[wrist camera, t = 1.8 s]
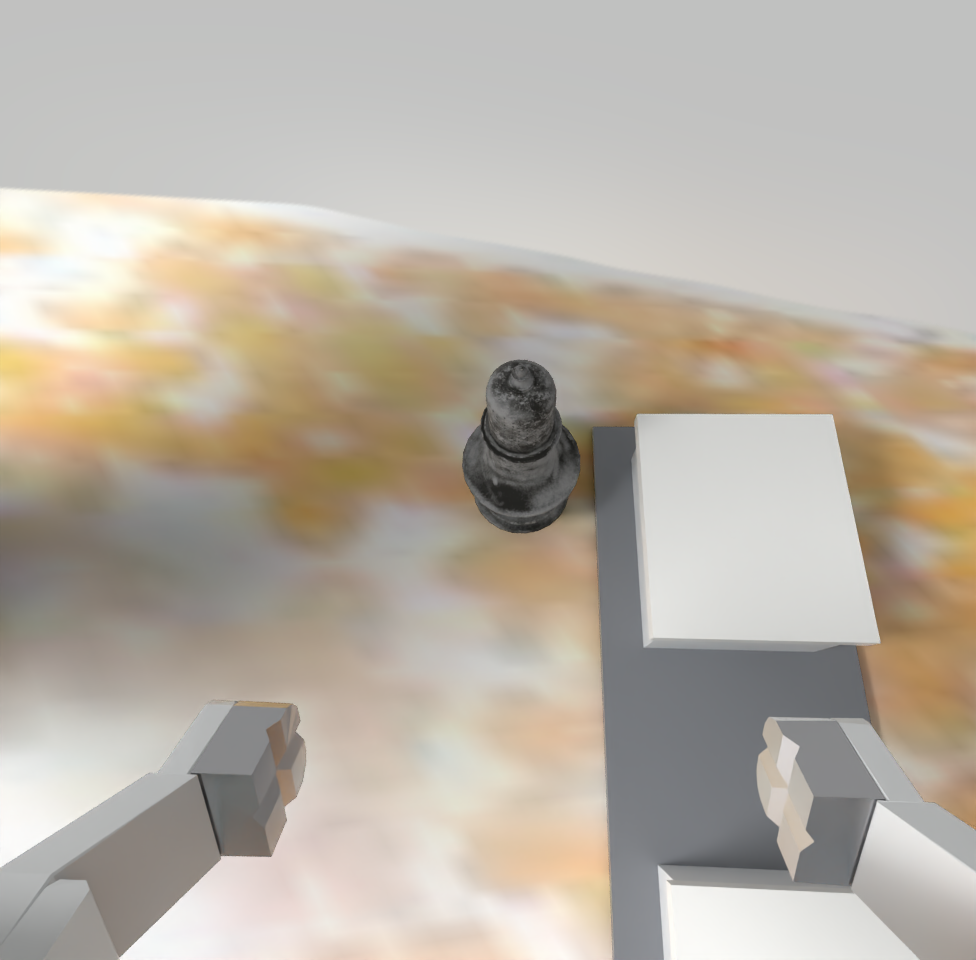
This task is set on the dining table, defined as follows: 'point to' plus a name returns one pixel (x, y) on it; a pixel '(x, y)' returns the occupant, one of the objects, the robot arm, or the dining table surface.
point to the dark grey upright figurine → (521, 451)
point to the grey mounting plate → (723, 677)
